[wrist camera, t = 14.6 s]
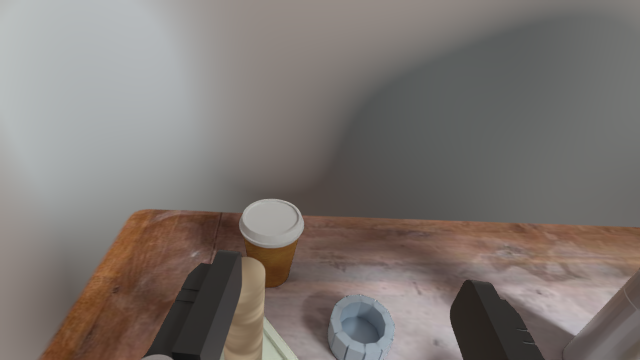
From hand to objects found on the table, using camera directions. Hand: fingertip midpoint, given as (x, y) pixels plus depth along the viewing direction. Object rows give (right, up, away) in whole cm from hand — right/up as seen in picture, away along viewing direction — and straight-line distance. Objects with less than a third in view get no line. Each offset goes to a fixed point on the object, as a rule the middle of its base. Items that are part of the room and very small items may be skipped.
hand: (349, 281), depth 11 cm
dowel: (-10, -20, +25) cm, 34 cm away
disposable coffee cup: (-9, -12, +40) cm, 43 cm away
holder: (+4, -19, +32) cm, 37 cm away
